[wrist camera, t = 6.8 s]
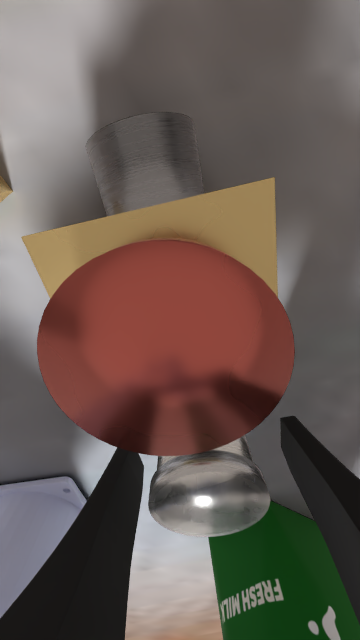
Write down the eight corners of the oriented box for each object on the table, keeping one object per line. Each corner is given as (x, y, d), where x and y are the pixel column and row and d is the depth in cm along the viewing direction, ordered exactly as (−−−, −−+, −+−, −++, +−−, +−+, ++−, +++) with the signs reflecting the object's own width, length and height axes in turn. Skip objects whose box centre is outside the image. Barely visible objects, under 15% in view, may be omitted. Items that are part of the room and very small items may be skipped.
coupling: (243, 420, 13) (278, 526, 9) (173, 436, 14) (171, 544, 9) (227, 362, 11) (259, 456, 7) (148, 383, 12) (128, 482, 7)
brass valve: (240, 352, 11) (314, 510, 5) (147, 368, 12) (111, 535, 6) (216, 138, 8) (372, -211, 2) (82, 172, 8) (-235, 7, 2)
